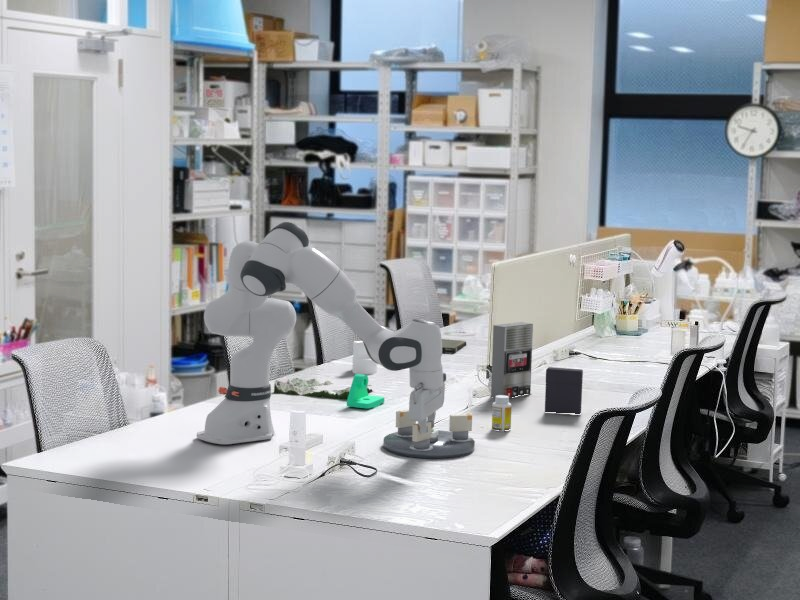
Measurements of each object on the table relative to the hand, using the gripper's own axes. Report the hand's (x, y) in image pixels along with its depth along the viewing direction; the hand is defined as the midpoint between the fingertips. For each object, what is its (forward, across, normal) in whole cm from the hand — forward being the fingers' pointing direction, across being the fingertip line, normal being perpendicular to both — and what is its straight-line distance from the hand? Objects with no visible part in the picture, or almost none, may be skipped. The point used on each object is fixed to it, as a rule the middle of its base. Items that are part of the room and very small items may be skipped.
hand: (427, 430), depth 314 cm
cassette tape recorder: (+8, +82, -4) cm, 82 cm away
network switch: (+8, +158, +46) cm, 165 cm away
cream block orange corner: (+4, +12, +10) cm, 16 cm away
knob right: (+5, +13, -5) cm, 15 cm away
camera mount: (+6, +50, +36) cm, 62 cm away
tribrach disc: (+7, +8, +2) cm, 11 cm away
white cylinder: (+6, +100, +55) cm, 115 cm away
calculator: (+9, +63, -24) cm, 68 cm away
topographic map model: (+6, +74, +56) cm, 93 cm away
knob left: (+4, -1, +1) cm, 5 cm away
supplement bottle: (+8, +36, -11) cm, 38 cm away
